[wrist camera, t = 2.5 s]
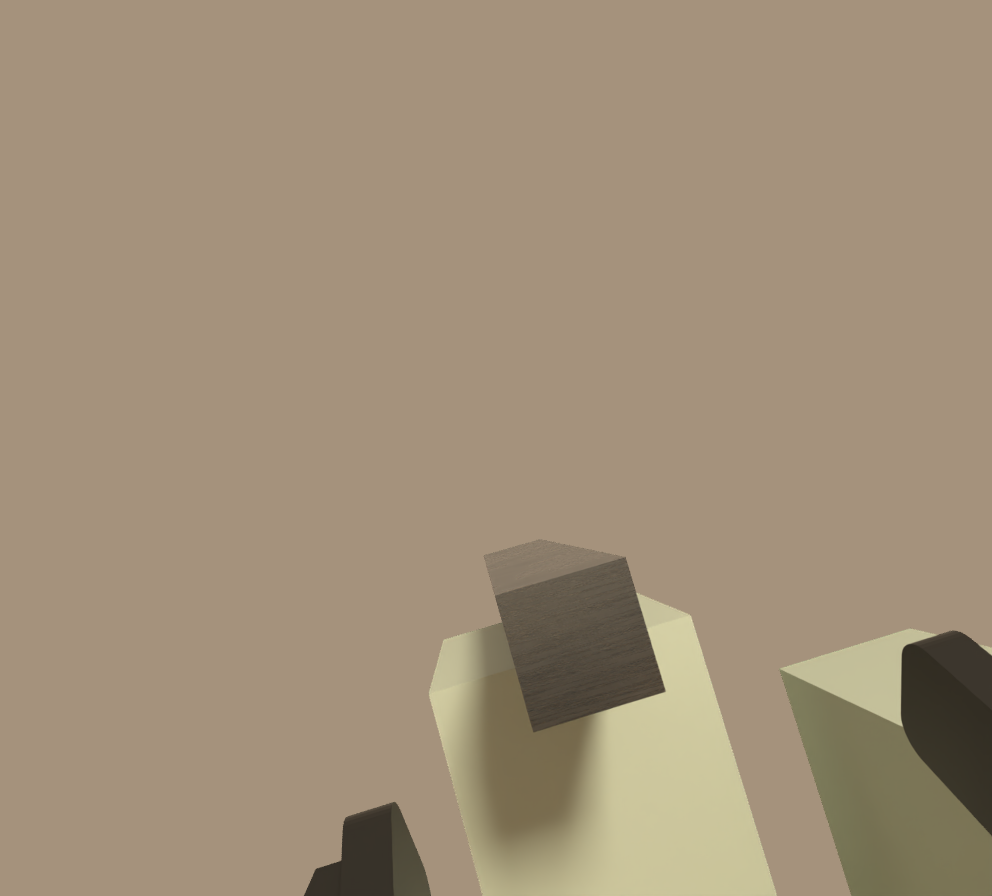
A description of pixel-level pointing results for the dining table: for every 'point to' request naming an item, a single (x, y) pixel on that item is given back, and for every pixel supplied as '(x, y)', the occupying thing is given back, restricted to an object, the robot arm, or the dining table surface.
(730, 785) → the stand
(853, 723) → the block
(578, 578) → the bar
